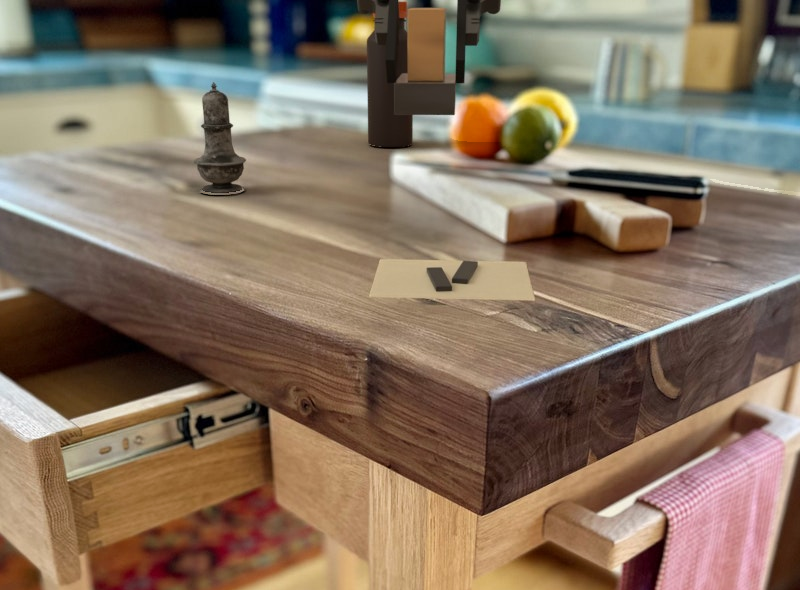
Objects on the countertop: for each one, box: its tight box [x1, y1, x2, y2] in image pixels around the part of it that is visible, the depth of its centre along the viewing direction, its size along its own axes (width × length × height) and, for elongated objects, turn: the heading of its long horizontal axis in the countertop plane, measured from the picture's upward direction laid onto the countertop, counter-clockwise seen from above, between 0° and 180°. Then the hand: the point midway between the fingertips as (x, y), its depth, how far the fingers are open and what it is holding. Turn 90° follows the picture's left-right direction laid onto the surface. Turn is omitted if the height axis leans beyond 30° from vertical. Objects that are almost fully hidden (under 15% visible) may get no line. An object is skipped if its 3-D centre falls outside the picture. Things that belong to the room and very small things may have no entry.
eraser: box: [394, 7, 457, 116], centre depth 75 cm, size 10×5×8 cm, turn 176°
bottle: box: [366, 1, 414, 148], centre depth 129 cm, size 7×7×20 cm
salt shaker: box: [193, 81, 247, 193], centre depth 99 cm, size 6×6×12 cm
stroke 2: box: [452, 260, 478, 284], centre depth 68 cm, size 5×1×1 cm, turn 166°
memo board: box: [368, 258, 536, 302], centre depth 67 cm, size 12×10×1 cm
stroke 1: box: [427, 267, 452, 292], centre depth 66 cm, size 5×1×1 cm, turn 6°
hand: (425, 71), depth 72 cm, fingers closed on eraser, 5 cm apart
